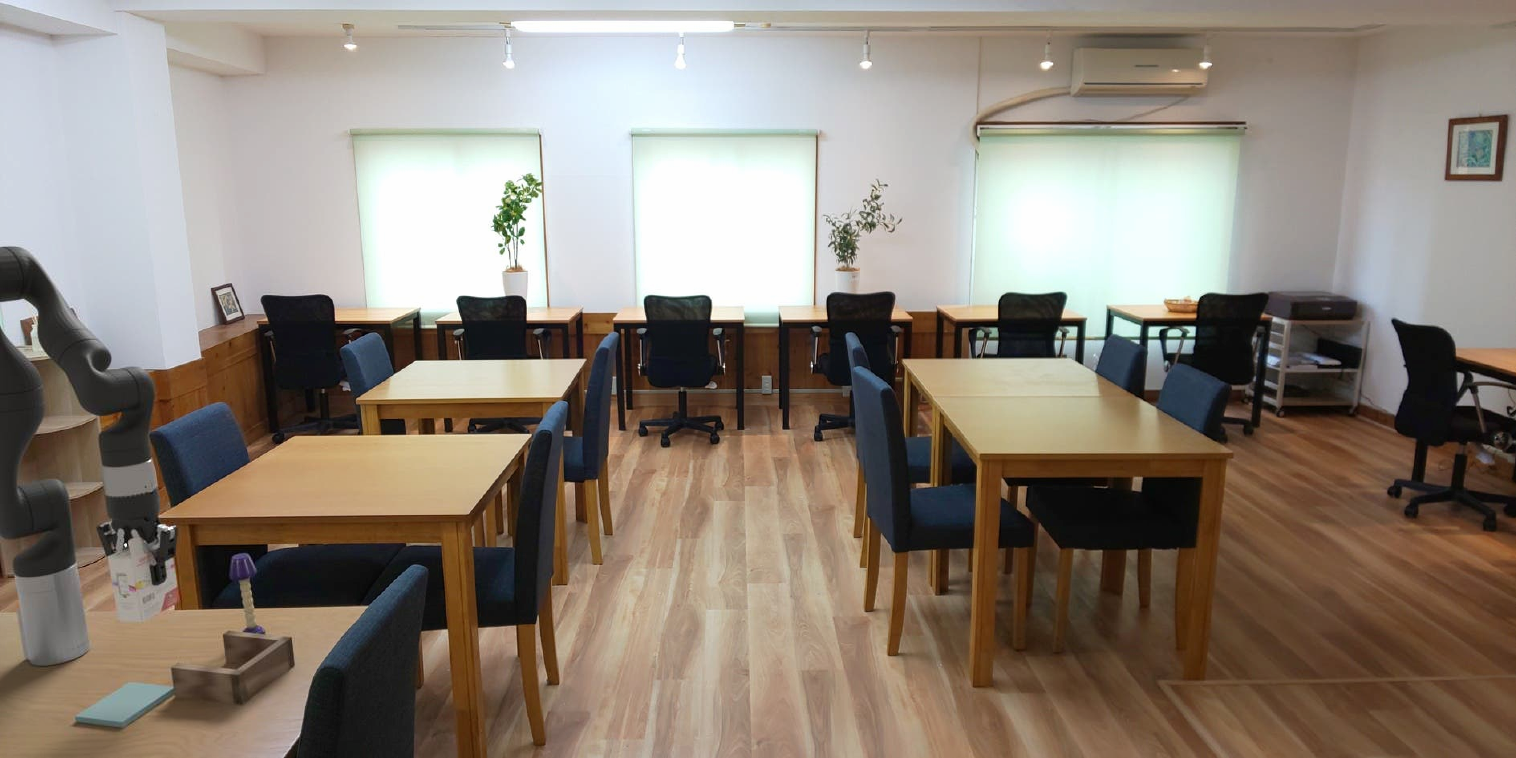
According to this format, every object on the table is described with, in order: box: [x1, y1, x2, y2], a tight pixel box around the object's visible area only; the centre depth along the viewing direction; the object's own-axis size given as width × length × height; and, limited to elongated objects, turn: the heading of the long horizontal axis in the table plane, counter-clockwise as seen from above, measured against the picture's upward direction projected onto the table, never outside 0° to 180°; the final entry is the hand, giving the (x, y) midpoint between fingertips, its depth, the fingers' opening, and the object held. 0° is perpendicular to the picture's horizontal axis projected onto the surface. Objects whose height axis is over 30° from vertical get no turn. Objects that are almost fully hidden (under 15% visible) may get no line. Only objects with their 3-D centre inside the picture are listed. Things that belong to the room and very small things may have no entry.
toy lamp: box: [229, 552, 266, 635], centre depth 184 cm, size 5×5×17 cm
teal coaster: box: [74, 681, 175, 729], centre depth 162 cm, size 9×11×1 cm
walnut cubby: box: [170, 630, 296, 706], centre depth 169 cm, size 13×14×6 cm
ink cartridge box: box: [107, 523, 180, 624], centre depth 164 cm, size 9×5×15 cm, turn 170°
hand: (144, 581), depth 164 cm, fingers closed on ink cartridge box, 5 cm apart
